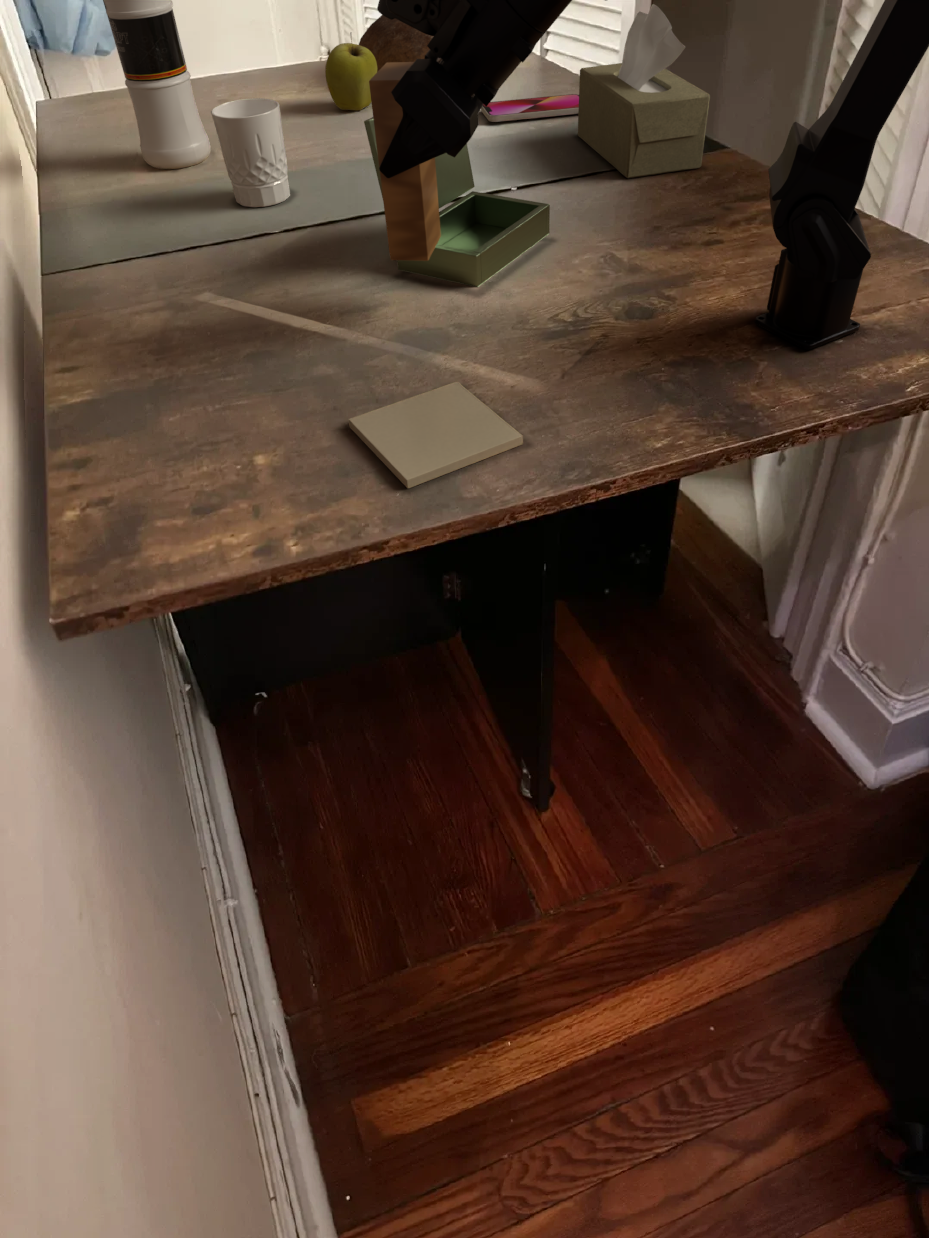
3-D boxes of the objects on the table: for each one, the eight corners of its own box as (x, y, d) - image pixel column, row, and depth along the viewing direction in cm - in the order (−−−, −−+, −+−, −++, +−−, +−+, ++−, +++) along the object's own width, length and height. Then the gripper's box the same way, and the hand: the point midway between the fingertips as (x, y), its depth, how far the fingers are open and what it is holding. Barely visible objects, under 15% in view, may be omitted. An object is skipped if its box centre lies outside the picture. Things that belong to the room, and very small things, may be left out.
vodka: (202, 170, 118) (130, -122, 96) (136, 172, 118) (49, -116, 97) (220, 147, 124) (156, -130, 103) (157, 150, 125) (80, -125, 104)
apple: (316, 98, 136) (325, 22, 130) (366, 108, 139) (377, 35, 133) (326, 111, 130) (336, 34, 124) (377, 122, 133) (389, 46, 127)
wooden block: (441, 236, 81) (427, 61, 71) (428, 261, 77) (412, 80, 67) (404, 236, 82) (386, 62, 72) (390, 260, 78) (368, 80, 68)
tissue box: (702, 169, 107) (722, 15, 96) (627, 180, 106) (638, 25, 95) (644, 126, 121) (655, -14, 109) (576, 135, 119) (581, -5, 108)
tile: (523, 444, 67) (523, 435, 66) (407, 489, 64) (406, 480, 63) (457, 389, 73) (457, 381, 73) (349, 427, 70) (348, 418, 69)
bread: (375, 104, 135) (366, 29, 129) (345, 65, 154) (336, -3, 147) (534, 82, 139) (534, 8, 133) (486, 47, 158) (484, -20, 151)
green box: (549, 240, 94) (549, 204, 92) (477, 294, 86) (476, 256, 83) (474, 226, 98) (472, 191, 96) (398, 277, 90) (394, 239, 87)
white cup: (218, 205, 108) (196, 114, 101) (257, 183, 112) (239, 95, 105) (270, 213, 105) (251, 120, 98) (307, 191, 110) (292, 101, 103)
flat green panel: (455, 80, 89) (450, 80, 89) (369, 120, 80) (363, 121, 81) (474, 187, 95) (469, 187, 96) (396, 235, 87) (391, 235, 87)
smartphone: (592, 106, 125) (489, 116, 124) (592, 114, 126) (489, 124, 124) (578, 93, 130) (479, 103, 129) (577, 101, 131) (479, 110, 130)
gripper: (461, -110, 68) (348, 58, 78) (406, -74, 55) (278, 122, 65) (561, 8, 72) (441, 153, 82) (531, 67, 60) (393, 231, 69)
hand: (392, 162), depth 75 cm, fingers closed on wooden block, 5 cm apart
